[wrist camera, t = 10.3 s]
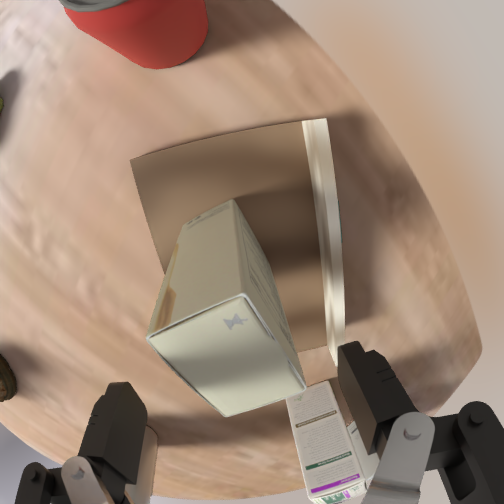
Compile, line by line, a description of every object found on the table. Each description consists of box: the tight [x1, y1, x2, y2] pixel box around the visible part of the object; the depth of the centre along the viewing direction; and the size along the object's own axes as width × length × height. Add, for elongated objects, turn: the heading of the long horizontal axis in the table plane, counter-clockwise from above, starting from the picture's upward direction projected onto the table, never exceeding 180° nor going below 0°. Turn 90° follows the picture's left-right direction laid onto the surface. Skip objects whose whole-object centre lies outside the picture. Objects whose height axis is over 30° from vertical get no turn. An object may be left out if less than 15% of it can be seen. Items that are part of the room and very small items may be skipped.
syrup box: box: [286, 380, 367, 504], centre depth 26 cm, size 6×6×14 cm
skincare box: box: [146, 199, 307, 417], centre depth 16 cm, size 6×4×12 cm
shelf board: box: [130, 118, 345, 367], centre depth 22 cm, size 20×13×5 cm, turn 11°
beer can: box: [59, 0, 208, 69], centre depth 11 cm, size 7×7×12 cm
